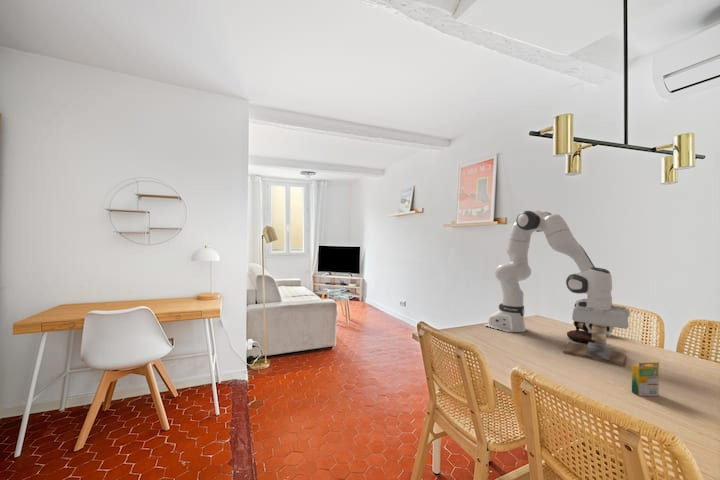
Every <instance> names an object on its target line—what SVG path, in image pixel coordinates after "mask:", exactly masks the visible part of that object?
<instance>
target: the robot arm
mask: <svg viewBox="0 0 720 480" xmlns="http://www.w3.org/2000/svg"><path fill="white" fill-rule="evenodd" d="M534 232H537V233H539V232H543V233H544V236H545V238H546V240H547V243H548V245H549V246H550V248H551V249H552V250H554V251H556V252H557V253H561V254H563V255H566V256H568V257H570V258H571V259H572V260H573V261H574V262H575V265H576V266H577V267H578V270H579V271H580V272H577V273H572V274H569V275H568V276H567V278H566V281H565V285H566V287H567V289H568V291H569V292H571V293H573V294H577V295H579V294H586V295H587V298H583V299H578V300H576V301H575V303H576V306H575V305H574V307H573V311H572V315H571V319H572V321H573V322H574V321H576V322H583V323H585V325H586V327H587V329H588V333H592V329H590V327H589V325H590V324H597V325H603V326H609V329H610V330H609V332H608V331H606V336H607V337H611V334H612V332H613V331H614V328H618V329H624V330H626V329H628V328H629V326H630V325H629V324H630V323H629V317H630V315H631V311H630V309H629V308H627V307H626V306H618V305H614V304H613V297H612V290H613V279H612V274H611V272H610V271H609V270H608V269H606V268H603V267H597V266H595V265H594V264H593V262H592V261H591V258H590V257H589V255H588V253H587V252H586V251H585V249H584V248H583V247H582V245H581V244H580V243H579V242H578V241H577V239H576V238H575V236H574V235H573V233H572V231H571V229H570V227H569V226H568V224H567V222H566V220H565V219H564V218H563V217H562V216H561V215H560V214H557V213H553V214H552V213H550V212H548V211H541V210H524V211H521V212H520V213H519V214H518V215H517V217H516V220H515V222H514V223H513V225H512V226H511V230H510V232H509V236H508V241H507V247H506V253H507V254H508V257H509V262H506V263H502V264H500V265H498V266H497V267H495V271H494V275H495V278H496V280H497V281H499V284H500V287H501V290H502V292H501V294H502V302H500V303H499V305H498V310H495V311H494V312H493V313H491V314H490V315H489V317H488V321H485V323H488V324H485V323H484V326H485V325H486V326H488V327H487V328H490V327H491V328H490V329H493V328H494V329H495V330H497V329H499V330H498V331H501V330H502V332H506V333H523V332H526V331H527V328H526V324H525V318H524V315H525V305H524V292H523V290H522V289H521V287H520V284H519V282H520V281H521V282H522V281H525V280H527V279H529V278H530V276H531V275H532V269H531V267H530V265H529V258H528V257H529V256H528V254H529V248H530V242H531V236H532V234H533V233H534ZM486 326H485V327H486Z"/></svg>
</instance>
